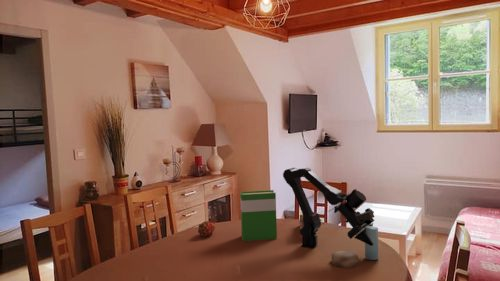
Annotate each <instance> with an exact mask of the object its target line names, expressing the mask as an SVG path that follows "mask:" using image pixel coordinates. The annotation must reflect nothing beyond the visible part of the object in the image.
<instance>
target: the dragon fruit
mask: <svg viewBox="0 0 500 281" xmlns="http://www.w3.org/2000/svg"><path fill="white" fill-rule="evenodd" d="M197 230H198V231H197V234H199V235H200V236H203V237H205V238H207V237H208V236H212V237H213V233H214V232H215V230H216V228H215V226H214V223H212V222H211V221H209V220H206V221H204V222H202V223H201V224H199V225H198V229H197Z"/></svg>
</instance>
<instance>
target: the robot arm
mask: <svg viewBox="0 0 500 281" xmlns="http://www.w3.org/2000/svg"><path fill="white" fill-rule="evenodd" d="M282 177H283V180H284V181H285V183H286V184H287V185H288V186H290V188H291V189H292V191H293V195H294V197H295V199H296V201H297V204H298V207H299V209H301V211H302V214H303V224H304V227H303V228H302V229H300V228H299V235H300V234H301V235H302V237H301V239H302V240H301V241H302V243H301V245H300V246H301V248H309V249H315V248H316V247H317V246H318V240H319V239H318V236H317V232H318V231H319V229H320V228H321V226H322V219H321V218H320V215H319V212H317V213H315V212H314V211H313V209H312V207H311V204H310V202H309V200H308V197H307V196H306V193H305V190H304V188H303V186H302V178H305V179H306V180H307V181H308V182H309V183H310V184H311V185H313V186H314V187H315V188H316V189H317V190H318V191H319V192H321V193H322V195H323V197H324V199H325V200H326V201H327V202H328V203H329V204H330V205H331V206H334V211H333V212H334V214H337V213H338V212H339V213H340V214H341V215H342V217H343V218H345V221H344V222H345V223H346V224H349V225H350V226H351V227H352V228H351V229H350V230H349V231H348V232H347V234H346V235H347V237H348V238H349V239H350V240H352V238H354V239H355V240H359V241H361V242H363V243H364V244H365V243H366V244H368V245H370V246H372V245H373V243H372V241H371V240H370V239H369V237H368V236H367V234H366V229H365V227H367V226H373V227H374V222H375V219H374V218H375V214H374V213H375V211H374V210H373V209H371V208H366V209H365V210H364V211H363V212H360V211H357V210H355V209H358V208H359V207H360V206H362V204H364V203H365V202H366V201H367V197H366V196H365V194H364V193H363V192H361V191H359V190H357V188H355V189H353V190H352V191H351V192H350V193H349V194H347V193H344V192H342V191H341V190H339V189H338V188H336V187H334V186H331V185H329V184H328V183H327V182H325V181H324V180H323V179H322V178H321V177H320V176H318V174H316V173H315V172H314V171H313V170H312V169H311V168H310V167H305V168H296V167H291V168H287V169H285V170H284V171H283V173H282Z"/></svg>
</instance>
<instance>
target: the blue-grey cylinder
mask: <svg viewBox="0 0 500 281" xmlns="http://www.w3.org/2000/svg"><path fill="white" fill-rule="evenodd" d="M365 229H366V234H367V236H368V237H369V239H370V240H371V241H372V243H373V245H372V246H370V245H368V244H366V243H364V256H365V257H364V258H365V259H366V260H371V261H375V260H379V228H378V226H374V225H373V226H367V227H365Z"/></svg>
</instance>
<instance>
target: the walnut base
mask: <svg viewBox="0 0 500 281" xmlns="http://www.w3.org/2000/svg"><path fill="white" fill-rule="evenodd" d="M331 264H332V265H334V266H336V267H338V268H344V269H345V268H347V269H348V268H356V266H358V265H359V256H358V254H357V253H355V252H354V251H349V250H337V251H333V252H332V253H331Z"/></svg>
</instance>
